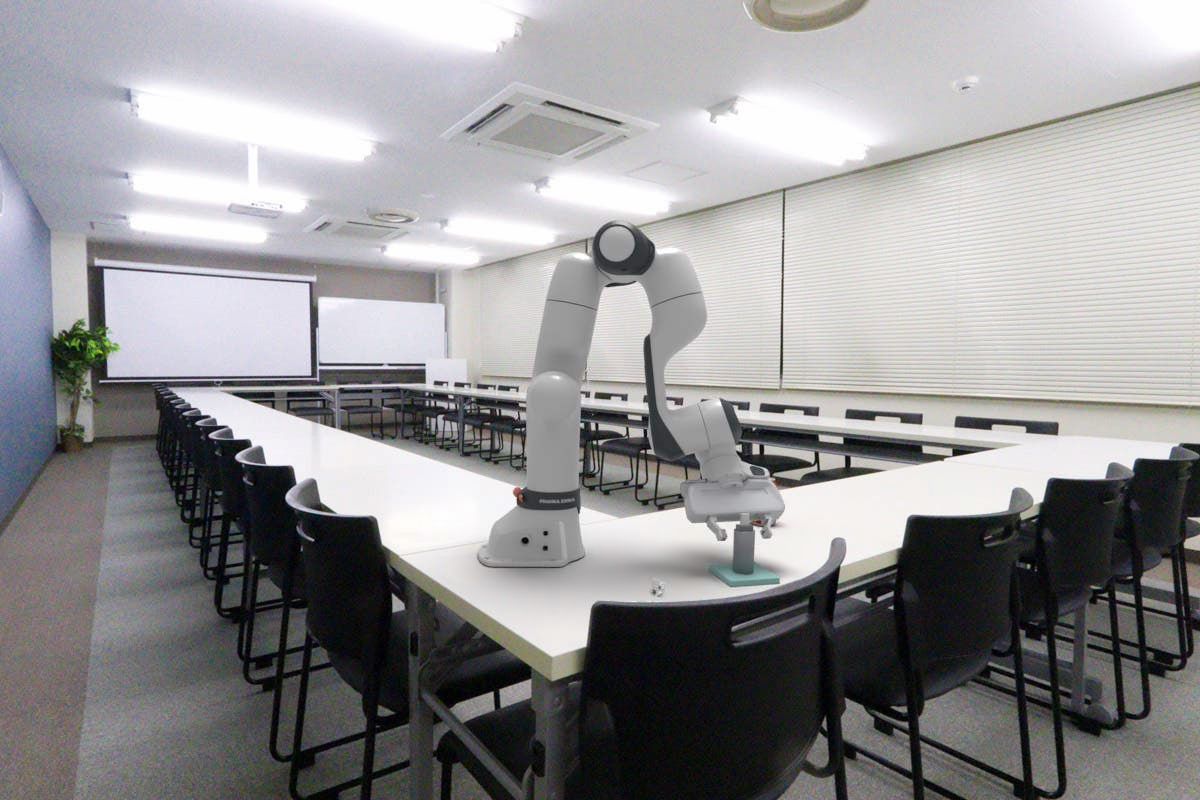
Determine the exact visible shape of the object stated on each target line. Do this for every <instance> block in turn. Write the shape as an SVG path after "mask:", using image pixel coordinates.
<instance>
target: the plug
mask: <svg viewBox="0 0 1200 800" xmlns="http://www.w3.org/2000/svg"><path fill="white" fill-rule="evenodd" d="M749 518H750V514H748V513H743V514H740V521H739V523H736V524H735V528H734V529H733V545H732V546H733V547H732V563H733V572H735V573H738V574H745V575H747V574H753V573H754V562H755V542H756V540H755V539H756V537H755V536H756V530H755V529H754V525H752V524H751V523H750V521H749Z"/></svg>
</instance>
